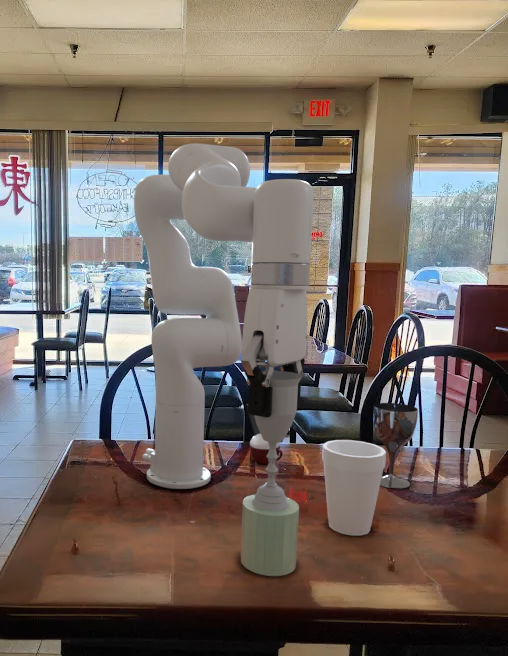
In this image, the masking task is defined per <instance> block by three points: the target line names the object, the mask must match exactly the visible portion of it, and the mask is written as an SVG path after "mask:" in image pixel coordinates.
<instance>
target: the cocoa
mask: <svg viewBox="0 0 508 656" xmlns="http://www.w3.org/2000/svg"><path fill="white" fill-rule="evenodd" d="M245 408H246V411H247V415H248V419H249V422H250V425H251V426H250V427H251V429H252V434H253V436H252V438H251V439H250V441H249V446H250V448H249V449H250V453H251V457H252V459H253V460H254V461H255V462H256V463H257V464H261V465H268V464H269V461H268V458H267V455H268V452H269V448H270V447H269V442H267V441H265V440H263V438H262V436H261V433H260V431H259V428H258V426H257V424H256V420H255V417H254V415H250V414H249V413H248V403H245ZM280 444H281V442H279V443H277V446H276V453H277V455H278V458H277V459H276V462H278V461H279V460H281V459H282V457H283V451H282V449H281V445H280Z"/></svg>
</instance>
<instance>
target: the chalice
mask: <svg viewBox="0 0 508 656" xmlns="http://www.w3.org/2000/svg"><path fill="white" fill-rule="evenodd" d="M261 371H262V373H263V375H264V372H265V370H261ZM302 378H303V376H302V375H300V374H297V373H293V372H285V371H281V370H274V371H273V374H272V378H271V381H270V385H269V386H271V387H273V390H272V414H271V416H270V417H268V418H266V417H261V416H255V415H254V417H255V420H256V424H257V427H258V430H259V434H261V436H262V438H263V440H265V441H267V442H269V447H270V448H269V452H268V455H267V458H268V461H269V464H267V467H266V468H265V471H266V472H267V477H268V478H267V481H266V482H265V483H264V484H261V485H260V486H259V487H258V488H257V490H256V492H255V494H254V495H255V498H254V499H253V501H252V504H253V505H254V506H255V507H257V508H259V509H262V510H267V511H282V510H285V509H287V508H288V507H289V504H288V502H287V500H286V499H287V498H288V497H287V496H286V494H285V490H284V489H283V488H282V487H281V486H279V485H278V483H276V475H277V472H279V469H278V468H277V466H276V462H277V461H276V459H277V458H279V456H278V455H277V453H276V446H277V443H279V442H280V443H281V442H284V440H285V438H286V437H287V434H288V433H289V430H290V429H291V428H292V425H293V423H294V420H295V417H296V415H297V412H298V407H297V395H298V383H299V381H300V380H301V381H302ZM280 443H279V444H280ZM286 497H287V498H286Z"/></svg>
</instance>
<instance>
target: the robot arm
mask: <svg viewBox="0 0 508 656" xmlns="http://www.w3.org/2000/svg"><path fill="white" fill-rule="evenodd" d="M167 171H168V174H153V175H147V176H145V177H143V178H142V179H140V180H139V181H138V183H137V185H136V186H135V190H134V196H133V211H134V212H133V213H134V218H135V222H136V226H137V229H138V231H139V235H140V236H141V239H142V241H143V243H144V246H145V249H146V253H147V259H148V269H149V276H150V282H151V283H150V284H151V290H152V296H153V302H154V304H155V307H156V309H157V311H159V312H160V313H163V314H167V315H182V316H183V315H185V316H186V315H188V316H189V315H190V316H191V315H195V316H196V315H202V316H203V315H204V316H205V317H173V318H168V319H164V320H162V321H160V322H158V323H157V325H155V327H154V328H153V330H152V332H151V349H152V350H151V351H152V357H153V364H154V374H155V375H154V376H155V418H154V422H155V423H154V449H152V448H146V449H145V451H144V453H143V454H142V455H141V460H142V461H144V462H148V463H150V467H149V468H148V469H147V471H146V479H147V480H148V482H149V483H151V484H152V485H155V486H158V487H160V488H166V489H171V490H191V489H197V488H200V487H204V486H206V485H207V484H209V482H211V478H212V477H211V476H212V475H211V472H210V471H209V470H208V469H207V468H205V467H204V446H205V444H204V443H205V442H204V440H205V410H206V409H205V407H206V405H205V404H206V397H205V396H206V393H205V387H204V385H203V384H202V381H201V380H200V379H199V377H198V376H197V375H196V373H195V372H194V369H198V368H207V367H208V368H210V367H211V368H212V367H213V368H214V367H228V366H232V365H233V364H235V363H237V362H238V360H239V359H240V363H241V365H242V368H243V370H244V375H245V377H246V384H247V385H248V393H247V396H248V397H247V399H248V400H247V404H248V412H247V414H248V413H249V414H250V415H255V416H261V417H266V418H268V417H270V416H271V414H272V390H273V387H271V386H269V385H270V381H271V378H272V374H273V371H275V367H279V371H285V372H293V373H297V374H300V375H302V377H303V375H304V372H303V368H304V365H305V362H306V360H305V359H306V357H307V354H308V351H309V346H308V299H307V298H308V297H307V291H309V290H310V276H311V253H312V236H313V235H312V233H313V216H314V189H313V187H312V185H311V184H310V183H309V182H307V181H305V180H301V179H296V178H293V179H292V178H281V179H280V178H279V179H270V180H265V181H262V182H261V183H260V184H258V185H257V186H256V187H255V186H253V187H252V186H247V185H248V183H249V180H250V175H251V165H250V161H249V158H248V157H247V155H246V154H245V152H243V150H241V149H239V148H237V147H235V146H227V145H226V146H225V145H217V144H208V143H207V144H206V143H195V142H194V143H187V144H183V145H181V146H179V147H178V148H176V149H175V150H174V151H173V152H172V153H171V155H170V157H169V159H168V164H167ZM171 220H176V221H177V220H178V221H185V222H186V224H187V225H188V226H189V227H190V228H191V229H192V230H193V231H194V233H196V234H197V235H199V236H200V237H201V238H203V239H205V240H210V241H213V242H214V241H216V242H241V243H242V242H246V243H252V245H251V272H250V288H249V291H248V295H247V299H246V303H245V310H244V317H243V318H244V319H243V327H242V331H241V325H240V319H239V313H238V308H237V301H236V295H235V289H234V286H233V285H234V284H233V282H232V279H231V278H230V275H228V273H227V272H226V271H225V270H223V269H222V268H219V267H213V266H197V265H195V264H194V263H193V260H192V256H191V249H190V245H189V243H188V241H187V239H186V237H185V236H184V235H183V234H182V232H181V231H180V230H179V229H178V228H177V227H176V226H175V225H174V224H173V223H172V222H171ZM262 369H265V370H264V371H265V372H264V375H263V373H262V371H263V370H262ZM301 389H302V379H301V380H300V381H299V383H298V395H297V408H299V407H300V406H301V391H302V390H301Z"/></svg>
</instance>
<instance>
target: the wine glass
mask: <svg viewBox="0 0 508 656" xmlns="http://www.w3.org/2000/svg"><path fill="white" fill-rule="evenodd" d="M372 411H373V413H372V414H373V417H372V418H373V419H372V420H373V427H374V431H375V435H376V436H377V438H378V439H379V440H380V442H381V443H382V444H383V446H384V447H385V449H386V450H387V451H386V452H387V454H388V461H389V463H388V465H389V467H388V474H382V478H381V482H380V487H383V488H389V489H390V488H392V489H406V488H408V487H410V486H411V483H410V482H409V481H408V480H407V479H405V478H402V477H399V476H395V475H394V467H395V461H396V456H397V454H398V452H399V451H400V450H401V448H403V447H404V446H405V445H406V444H407V443H408V442H410V440H411V439H412V438H413V437H414V434H415V431H416V428H417V424H418V417H419V415H418V414H419V409H418V408H417V407H415V406H412V405H409V404H404V403H396V402H378V403H375V404H374V405H373V410H372Z"/></svg>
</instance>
